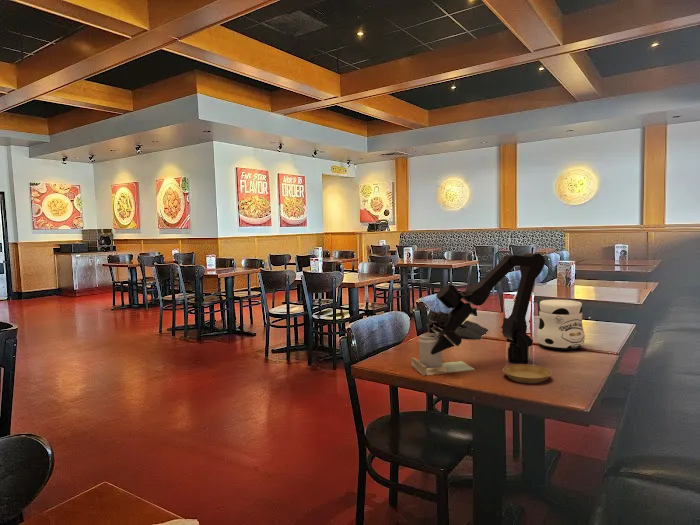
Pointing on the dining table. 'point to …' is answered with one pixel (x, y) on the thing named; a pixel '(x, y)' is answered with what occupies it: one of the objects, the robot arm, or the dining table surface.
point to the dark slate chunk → (471, 330)
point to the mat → (457, 366)
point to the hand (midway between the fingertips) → (427, 350)
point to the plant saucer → (527, 373)
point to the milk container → (560, 324)
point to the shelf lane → (427, 371)
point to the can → (429, 350)
